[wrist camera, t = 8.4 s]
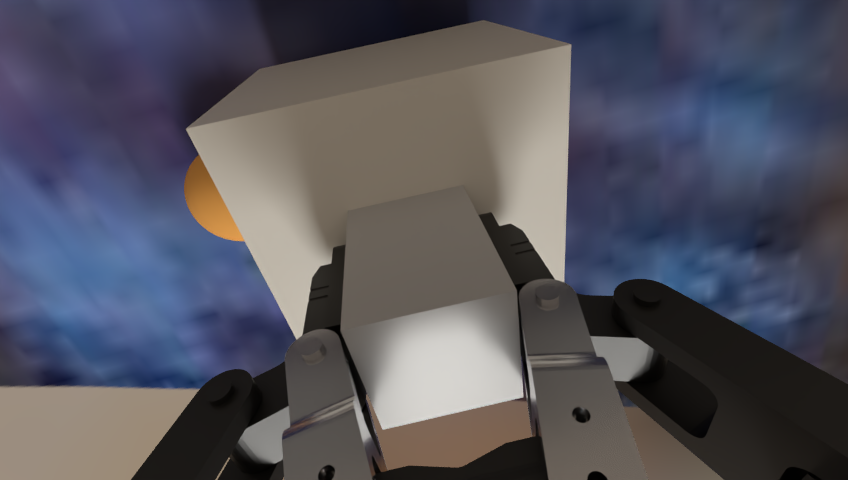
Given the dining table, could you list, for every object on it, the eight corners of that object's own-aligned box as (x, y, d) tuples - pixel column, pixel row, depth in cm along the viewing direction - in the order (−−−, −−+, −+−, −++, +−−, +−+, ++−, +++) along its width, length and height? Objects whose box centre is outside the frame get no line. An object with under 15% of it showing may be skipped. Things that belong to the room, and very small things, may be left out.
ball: (249, 154, 16) (138, 174, 17) (293, 253, 19) (196, 267, 19) (286, 118, 20) (196, 135, 21) (317, 203, 23) (237, 216, 23)
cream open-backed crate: (483, 20, 18) (715, 84, 6) (499, 214, 23) (634, 438, 12) (259, 68, 17) (62, 229, 6) (330, 252, 23) (299, 515, 12)
